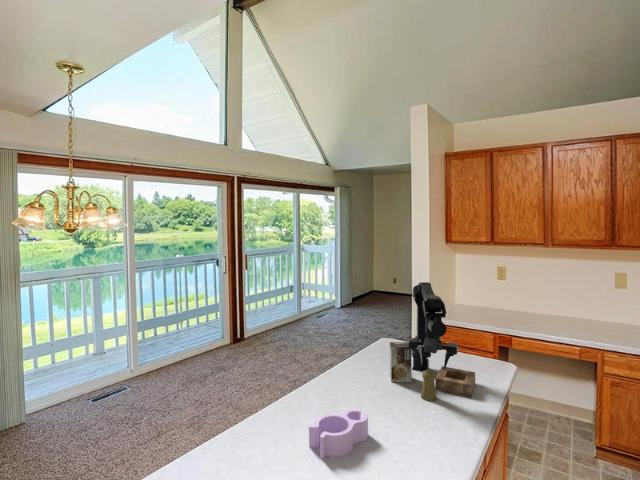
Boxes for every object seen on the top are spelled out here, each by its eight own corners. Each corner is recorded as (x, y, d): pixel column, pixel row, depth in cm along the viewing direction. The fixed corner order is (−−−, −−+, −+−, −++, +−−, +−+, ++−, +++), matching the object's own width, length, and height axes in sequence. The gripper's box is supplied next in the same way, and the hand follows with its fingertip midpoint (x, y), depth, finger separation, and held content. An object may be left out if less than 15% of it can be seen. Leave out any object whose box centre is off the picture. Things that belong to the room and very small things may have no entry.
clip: (352, 423, 132) (352, 404, 132) (376, 440, 122) (376, 420, 121) (304, 442, 121) (304, 422, 121) (326, 463, 111) (325, 441, 110)
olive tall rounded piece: (437, 401, 146) (437, 374, 145) (421, 400, 147) (421, 373, 147) (435, 394, 152) (435, 368, 151) (420, 393, 153) (420, 367, 153)
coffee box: (409, 376, 169) (409, 342, 168) (411, 382, 163) (411, 347, 162) (389, 375, 170) (389, 341, 169) (390, 382, 164) (390, 346, 163)
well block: (435, 389, 156) (435, 378, 156) (442, 376, 168) (442, 366, 168) (471, 397, 149) (471, 385, 149) (475, 383, 162) (475, 372, 161)
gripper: (405, 331, 145) (405, 370, 146) (455, 337, 137) (455, 378, 138) (411, 324, 155) (411, 360, 156) (458, 329, 147) (458, 367, 148)
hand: (432, 366), depth 150 cm, fingers open, 9 cm apart
